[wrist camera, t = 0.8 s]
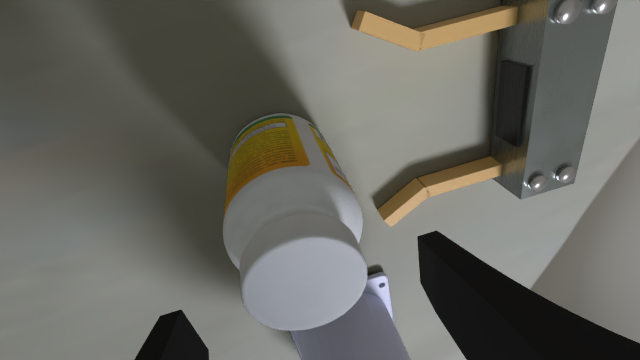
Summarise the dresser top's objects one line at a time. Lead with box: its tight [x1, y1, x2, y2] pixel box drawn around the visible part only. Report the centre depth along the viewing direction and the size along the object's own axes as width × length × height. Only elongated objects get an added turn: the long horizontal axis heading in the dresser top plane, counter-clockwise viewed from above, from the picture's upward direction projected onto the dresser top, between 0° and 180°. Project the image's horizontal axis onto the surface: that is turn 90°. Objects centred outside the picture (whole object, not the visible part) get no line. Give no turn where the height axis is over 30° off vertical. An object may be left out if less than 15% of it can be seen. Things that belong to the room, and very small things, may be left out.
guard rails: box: [351, 6, 518, 227], centre depth 18 cm, size 12×8×1 cm, turn 12°
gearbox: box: [490, 0, 618, 199], centre depth 17 cm, size 13×4×3 cm, turn 12°
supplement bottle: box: [223, 113, 367, 331], centre depth 14 cm, size 5×5×10 cm
